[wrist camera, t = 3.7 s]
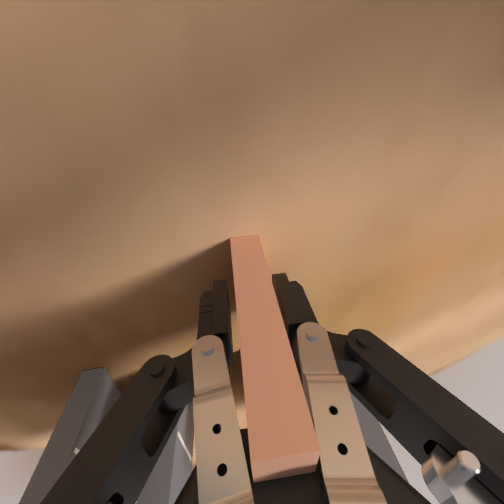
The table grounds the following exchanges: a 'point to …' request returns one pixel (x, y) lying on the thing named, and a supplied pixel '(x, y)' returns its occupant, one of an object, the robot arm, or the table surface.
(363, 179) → the table surface
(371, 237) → the table surface
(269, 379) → the domino
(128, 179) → the table surface
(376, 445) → the domino
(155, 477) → the domino
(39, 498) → the domino
